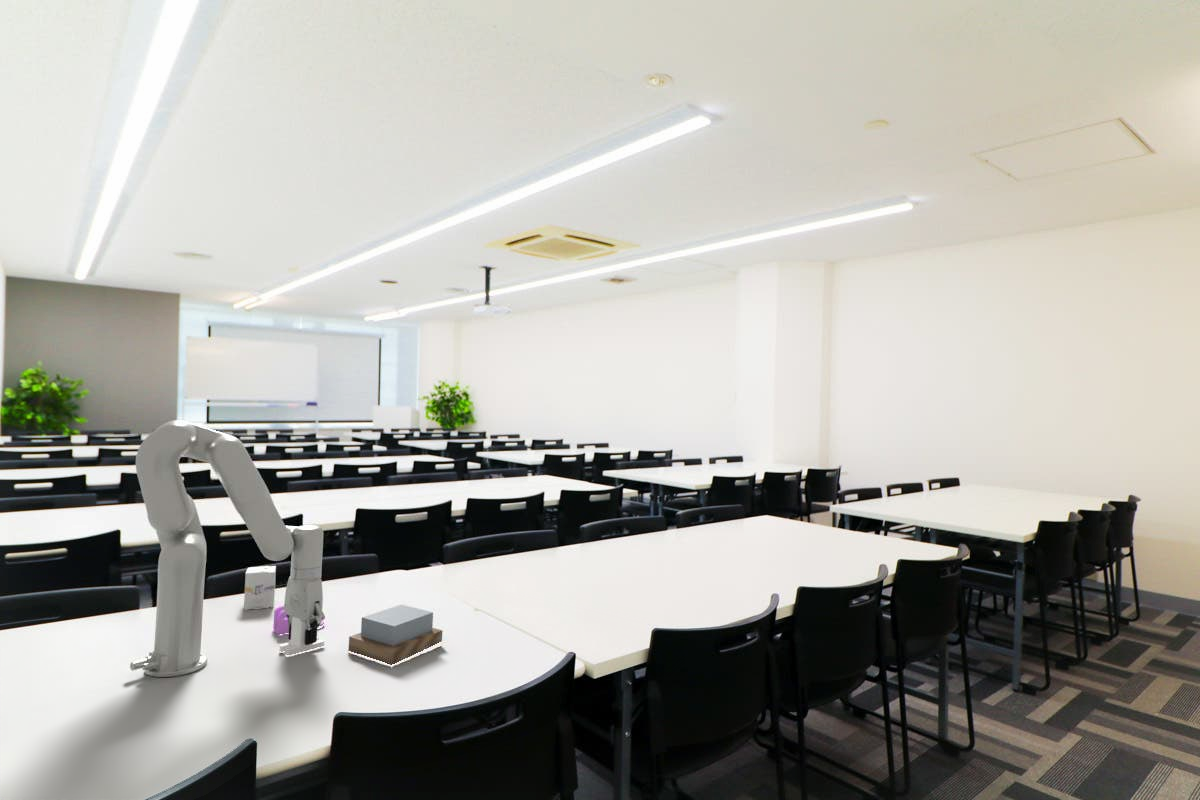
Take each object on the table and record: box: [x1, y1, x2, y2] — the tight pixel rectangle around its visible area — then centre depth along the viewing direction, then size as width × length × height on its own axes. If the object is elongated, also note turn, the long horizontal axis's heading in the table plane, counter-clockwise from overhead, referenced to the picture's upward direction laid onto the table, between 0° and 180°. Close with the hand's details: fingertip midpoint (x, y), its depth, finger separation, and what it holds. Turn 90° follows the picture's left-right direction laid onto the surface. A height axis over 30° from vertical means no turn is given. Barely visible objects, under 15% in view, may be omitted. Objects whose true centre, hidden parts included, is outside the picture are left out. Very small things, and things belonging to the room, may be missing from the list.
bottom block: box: [347, 627, 444, 665], centre depth 172 cm, size 18×16×5 cm
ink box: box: [243, 565, 277, 611], centre depth 204 cm, size 9×8×12 cm
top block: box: [360, 604, 434, 646], centre depth 172 cm, size 14×12×5 cm
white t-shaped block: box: [278, 615, 325, 655], centre depth 169 cm, size 5×10×10 cm, turn 141°
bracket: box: [272, 604, 325, 636], centre depth 185 cm, size 13×6×7 cm, turn 130°
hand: (302, 640), depth 169 cm, fingers closed on white t-shaped block, 5 cm apart
